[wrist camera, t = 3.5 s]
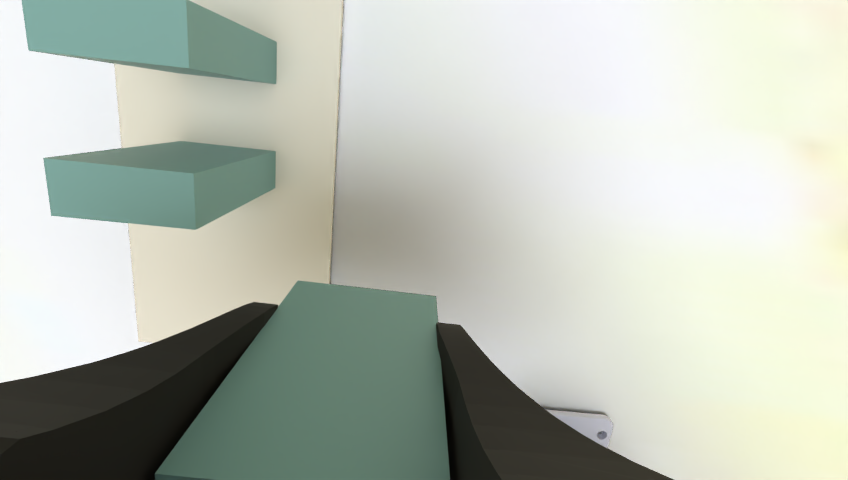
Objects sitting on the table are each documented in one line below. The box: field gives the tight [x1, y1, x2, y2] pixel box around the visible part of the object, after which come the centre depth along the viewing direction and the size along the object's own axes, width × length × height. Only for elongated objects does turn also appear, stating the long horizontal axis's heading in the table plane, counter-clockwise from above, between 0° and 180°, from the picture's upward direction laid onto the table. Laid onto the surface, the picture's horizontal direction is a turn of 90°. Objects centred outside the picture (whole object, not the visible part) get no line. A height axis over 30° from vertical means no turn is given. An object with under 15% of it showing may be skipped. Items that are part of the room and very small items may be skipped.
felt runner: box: [114, 0, 343, 343], centre depth 18 cm, size 26×9×1 cm, turn 174°
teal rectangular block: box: [22, 0, 277, 84], centre depth 14 cm, size 2×4×7 cm, turn 84°
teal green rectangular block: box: [155, 280, 450, 480], centre depth 9 cm, size 2×4×7 cm, turn 83°
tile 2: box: [44, 141, 276, 230], centre depth 15 cm, size 2×4×7 cm, turn 84°
